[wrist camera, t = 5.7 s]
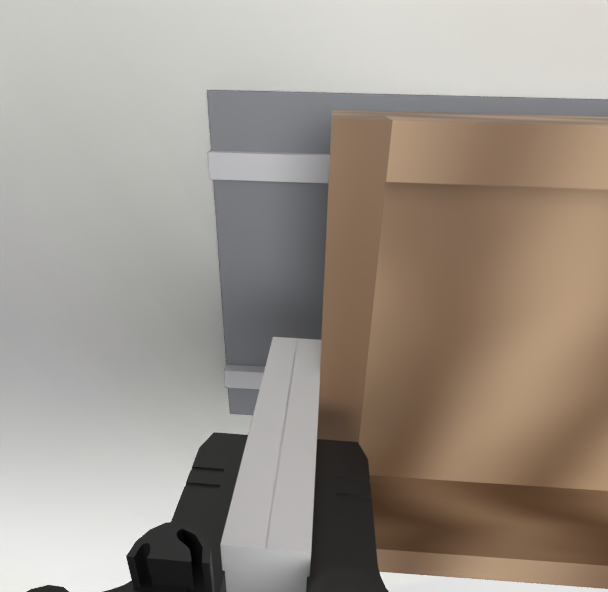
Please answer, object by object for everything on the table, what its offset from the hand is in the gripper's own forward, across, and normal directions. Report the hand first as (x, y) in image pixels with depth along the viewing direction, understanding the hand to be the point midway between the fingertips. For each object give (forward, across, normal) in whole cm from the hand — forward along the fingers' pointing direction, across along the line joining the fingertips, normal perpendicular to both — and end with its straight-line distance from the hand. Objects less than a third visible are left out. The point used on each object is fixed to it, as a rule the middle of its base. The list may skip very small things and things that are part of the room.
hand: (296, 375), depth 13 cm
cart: (+5, +10, 0) cm, 12 cm away
